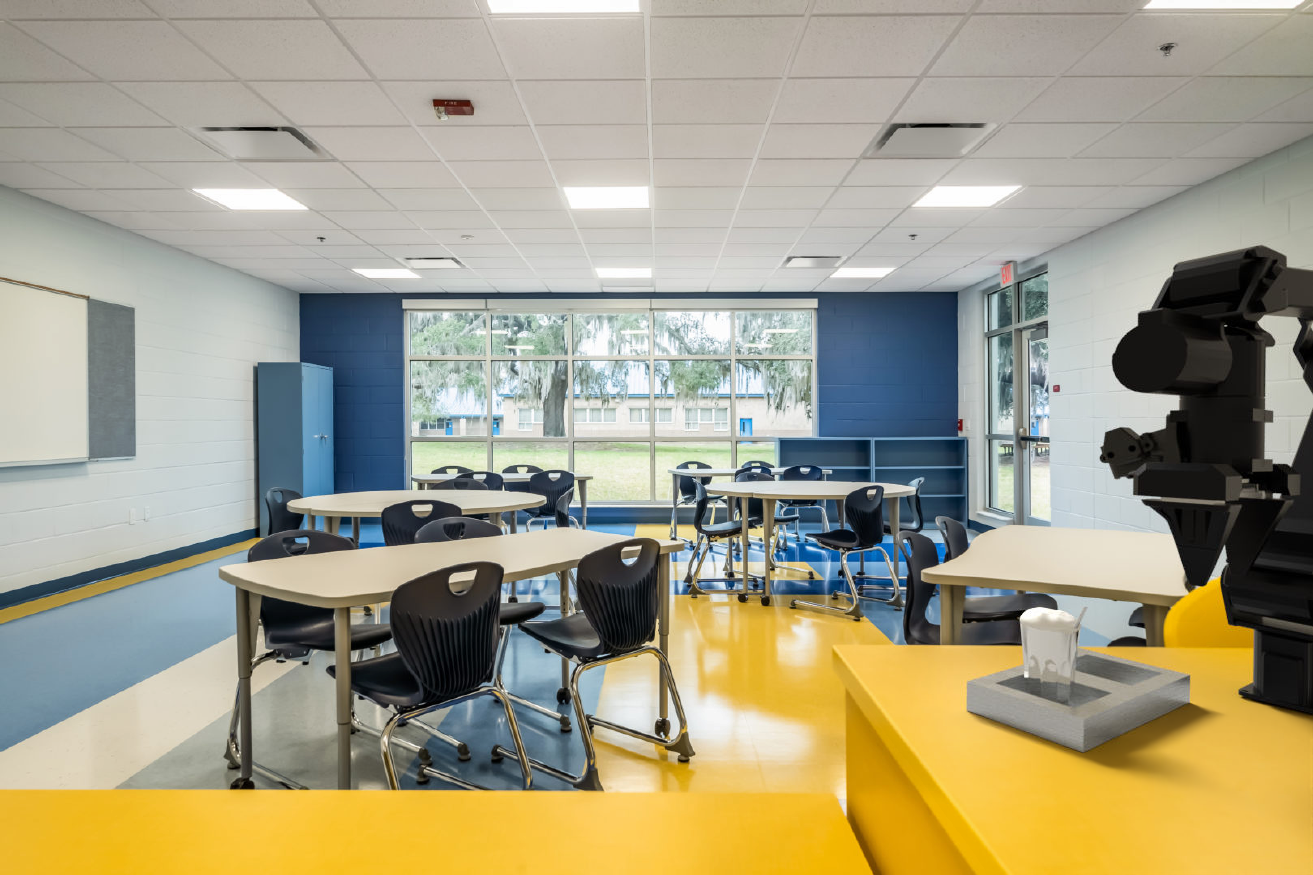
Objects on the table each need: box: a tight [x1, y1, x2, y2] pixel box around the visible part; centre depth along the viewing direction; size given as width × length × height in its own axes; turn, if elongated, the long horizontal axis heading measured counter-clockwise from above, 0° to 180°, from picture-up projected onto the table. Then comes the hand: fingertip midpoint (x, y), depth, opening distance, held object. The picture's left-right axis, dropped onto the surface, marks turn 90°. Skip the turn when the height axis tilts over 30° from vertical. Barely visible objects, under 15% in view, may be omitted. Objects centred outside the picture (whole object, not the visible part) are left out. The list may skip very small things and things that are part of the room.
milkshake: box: [1019, 606, 1088, 707], centre depth 59 cm, size 4×5×10 cm
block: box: [965, 647, 1191, 753], centre depth 61 cm, size 20×10×2 cm, turn 124°
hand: (1218, 580), depth 59 cm, fingers open, 9 cm apart
